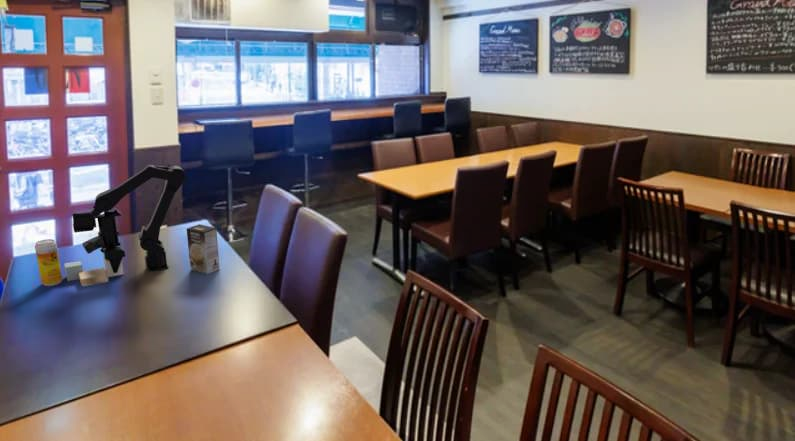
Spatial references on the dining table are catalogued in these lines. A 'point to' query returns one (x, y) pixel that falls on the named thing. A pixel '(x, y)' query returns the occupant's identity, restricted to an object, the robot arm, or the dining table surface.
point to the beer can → (48, 262)
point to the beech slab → (93, 277)
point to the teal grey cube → (73, 270)
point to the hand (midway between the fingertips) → (114, 270)
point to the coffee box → (203, 248)
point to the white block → (110, 271)
